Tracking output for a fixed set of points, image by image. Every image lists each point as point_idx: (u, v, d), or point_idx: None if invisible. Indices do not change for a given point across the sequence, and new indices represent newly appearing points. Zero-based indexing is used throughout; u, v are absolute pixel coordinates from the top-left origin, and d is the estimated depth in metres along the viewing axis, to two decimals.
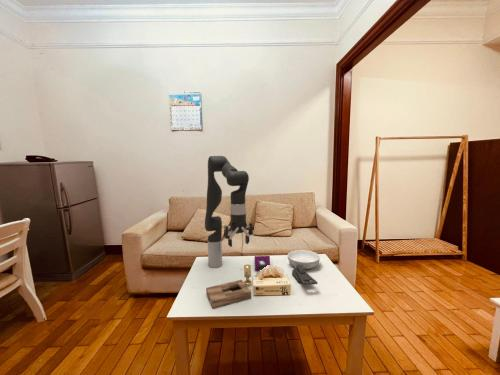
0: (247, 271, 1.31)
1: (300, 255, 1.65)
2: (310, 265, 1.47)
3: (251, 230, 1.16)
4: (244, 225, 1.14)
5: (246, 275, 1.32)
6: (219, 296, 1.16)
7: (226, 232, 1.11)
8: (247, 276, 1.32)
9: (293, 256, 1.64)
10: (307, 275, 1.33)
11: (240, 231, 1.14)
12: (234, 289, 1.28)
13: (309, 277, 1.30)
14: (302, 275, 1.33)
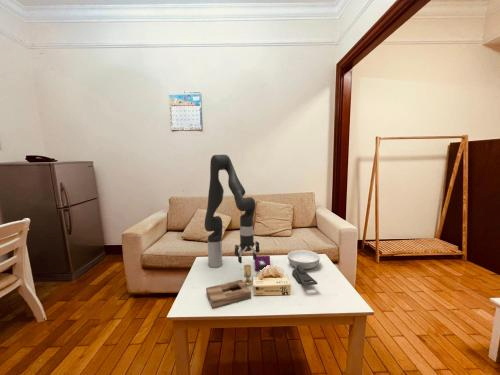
0: (247, 271, 1.31)
1: (300, 255, 1.65)
2: (310, 265, 1.47)
3: (258, 248, 1.33)
4: (252, 244, 1.31)
5: (246, 275, 1.32)
6: (219, 296, 1.16)
7: (236, 251, 1.28)
8: (247, 276, 1.32)
9: (293, 256, 1.64)
10: (307, 275, 1.32)
11: (248, 249, 1.31)
12: (234, 289, 1.28)
13: (309, 277, 1.29)
14: (302, 275, 1.33)
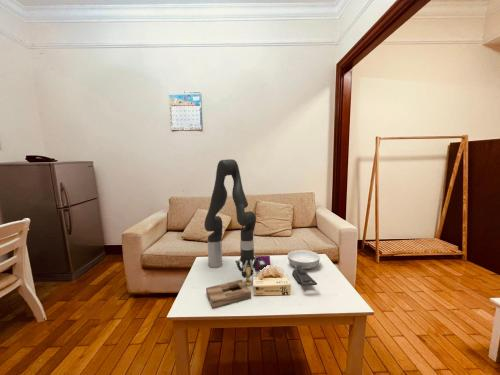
0: (247, 271, 1.31)
1: (300, 255, 1.65)
2: (310, 265, 1.47)
3: (256, 264, 1.34)
4: (252, 257, 1.32)
5: (246, 275, 1.32)
6: (219, 296, 1.16)
7: (239, 266, 1.30)
8: (247, 276, 1.32)
9: (293, 256, 1.64)
10: (307, 276, 1.32)
11: (247, 263, 1.32)
12: (234, 289, 1.28)
13: (309, 278, 1.29)
14: (302, 276, 1.32)
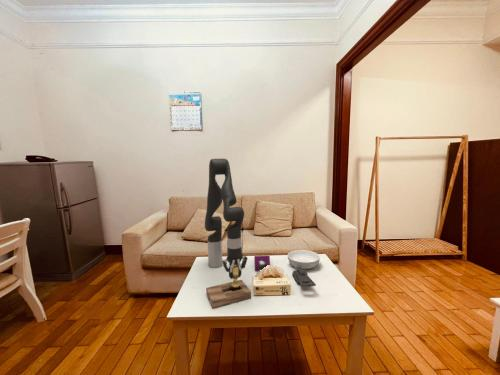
0: (234, 272, 1.20)
1: (300, 255, 1.65)
2: (310, 265, 1.47)
3: (244, 264, 1.23)
4: (240, 257, 1.22)
5: (233, 276, 1.21)
6: (219, 296, 1.16)
7: (225, 266, 1.19)
8: (234, 277, 1.21)
9: (293, 256, 1.64)
10: (306, 277, 1.31)
11: (235, 262, 1.21)
12: (234, 289, 1.28)
13: (308, 279, 1.28)
14: (301, 276, 1.31)
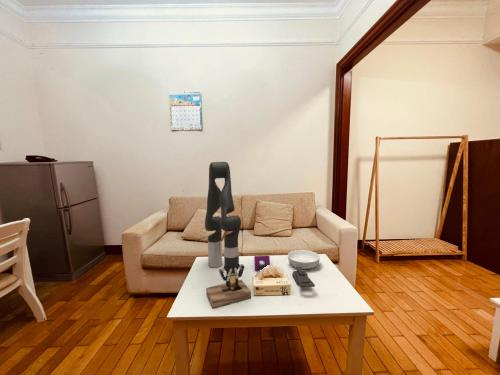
0: (231, 280, 1.20)
1: (300, 255, 1.65)
2: (310, 265, 1.47)
3: (241, 272, 1.23)
4: (237, 265, 1.21)
5: (230, 285, 1.21)
6: (219, 296, 1.16)
7: (222, 275, 1.18)
8: (232, 286, 1.21)
9: (293, 256, 1.64)
10: (306, 277, 1.31)
11: (232, 271, 1.21)
12: (234, 289, 1.28)
13: (307, 279, 1.27)
14: (301, 277, 1.31)
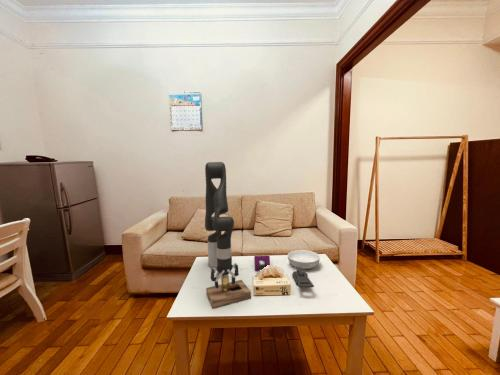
0: (224, 282, 1.19)
1: (300, 255, 1.65)
2: (310, 265, 1.47)
3: (237, 271, 1.22)
4: (230, 267, 1.20)
5: (223, 286, 1.19)
6: (219, 296, 1.16)
7: (212, 275, 1.16)
8: (224, 288, 1.19)
9: (293, 256, 1.64)
10: (305, 278, 1.30)
11: (226, 273, 1.19)
12: (234, 289, 1.28)
13: (307, 280, 1.27)
14: (300, 277, 1.30)
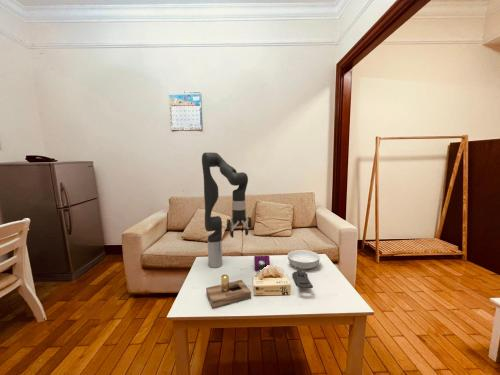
0: (224, 282, 1.19)
1: (300, 255, 1.65)
2: (310, 265, 1.47)
3: (250, 223, 1.34)
4: (244, 219, 1.33)
5: (223, 286, 1.19)
6: (219, 296, 1.16)
7: (228, 225, 1.29)
8: (224, 288, 1.19)
9: (293, 256, 1.64)
10: (305, 278, 1.29)
11: (240, 224, 1.32)
12: (234, 289, 1.28)
13: (306, 280, 1.26)
14: (300, 278, 1.30)
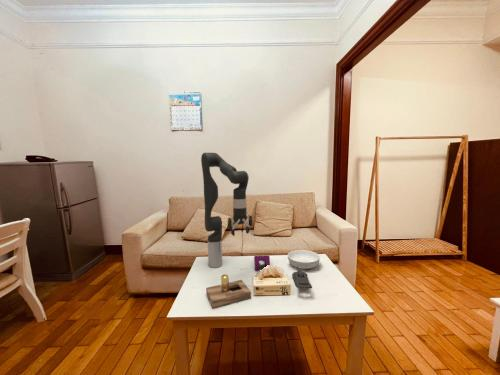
0: (224, 282, 1.19)
1: (300, 255, 1.65)
2: (310, 265, 1.47)
3: (251, 222, 1.35)
4: (245, 217, 1.34)
5: (223, 286, 1.19)
6: (219, 296, 1.16)
7: (229, 223, 1.30)
8: (224, 288, 1.19)
9: (293, 256, 1.64)
10: (305, 279, 1.29)
11: (241, 222, 1.33)
12: (234, 289, 1.28)
13: (306, 281, 1.26)
14: (299, 278, 1.30)
